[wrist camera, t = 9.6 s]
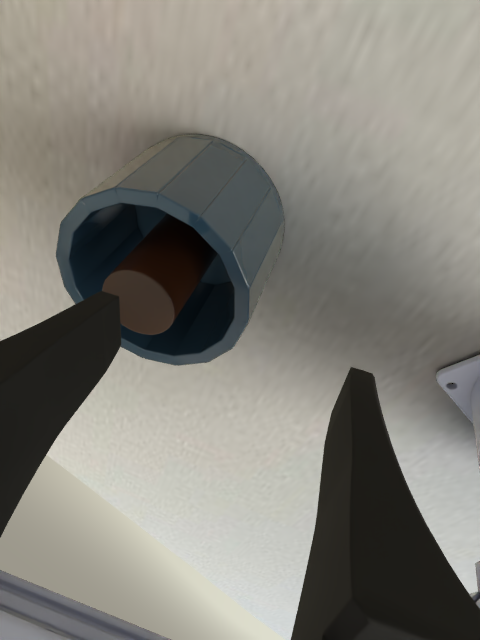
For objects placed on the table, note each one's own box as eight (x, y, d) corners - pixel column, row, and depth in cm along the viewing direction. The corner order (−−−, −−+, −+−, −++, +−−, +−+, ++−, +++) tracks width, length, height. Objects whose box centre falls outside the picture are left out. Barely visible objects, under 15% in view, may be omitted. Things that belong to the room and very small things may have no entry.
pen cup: (319, 234, 22) (293, 314, 17) (208, 309, 27) (163, 388, 22) (199, 92, 20) (128, 139, 15) (102, 203, 24) (24, 265, 20)
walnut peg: (242, 229, 22) (189, 314, 17) (202, 260, 24) (144, 346, 19) (199, 181, 21) (129, 256, 16) (161, 217, 23) (88, 294, 18)
